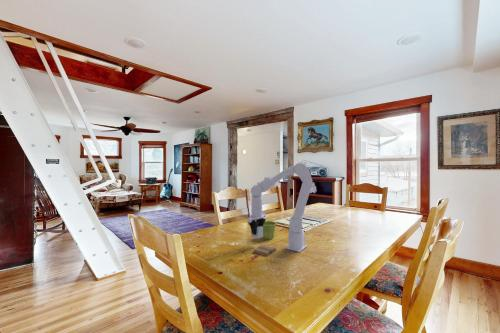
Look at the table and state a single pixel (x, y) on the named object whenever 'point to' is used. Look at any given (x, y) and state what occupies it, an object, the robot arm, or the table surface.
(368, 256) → the table surface
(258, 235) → the block
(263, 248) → the slab
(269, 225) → the plant pot
